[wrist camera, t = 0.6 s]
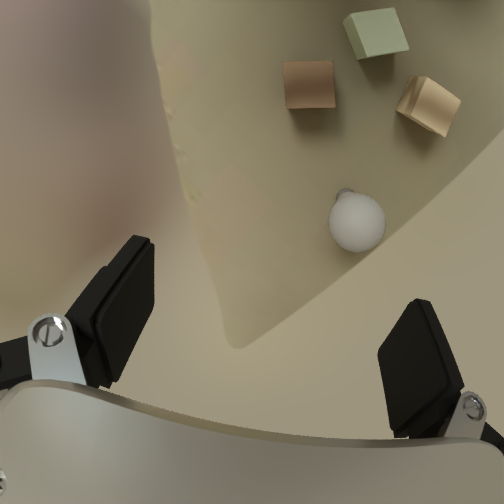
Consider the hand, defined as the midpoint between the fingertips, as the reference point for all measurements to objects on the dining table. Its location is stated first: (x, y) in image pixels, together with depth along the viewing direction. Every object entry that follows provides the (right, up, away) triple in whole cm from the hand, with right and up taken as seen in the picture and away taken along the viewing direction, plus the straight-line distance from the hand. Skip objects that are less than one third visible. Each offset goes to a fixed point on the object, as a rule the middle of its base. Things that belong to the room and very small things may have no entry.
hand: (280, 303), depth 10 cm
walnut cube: (+5, +21, +20) cm, 30 cm away
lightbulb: (+11, +9, +27) cm, 30 cm away
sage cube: (+12, +26, +16) cm, 33 cm away
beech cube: (+19, +20, +19) cm, 34 cm away
